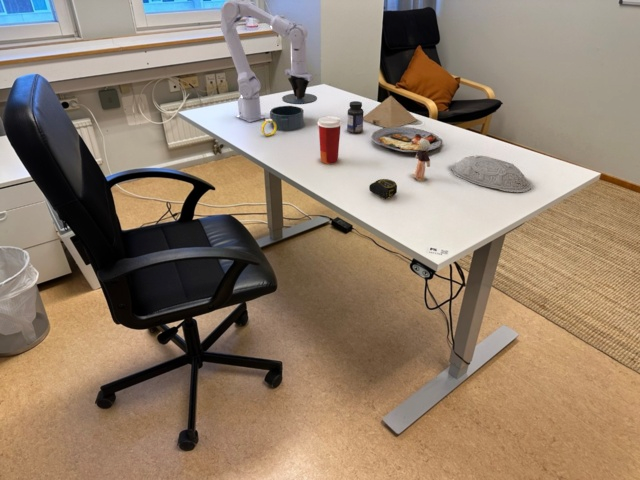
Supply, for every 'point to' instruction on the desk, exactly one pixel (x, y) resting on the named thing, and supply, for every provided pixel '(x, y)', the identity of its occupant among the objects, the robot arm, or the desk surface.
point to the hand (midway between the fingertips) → (299, 96)
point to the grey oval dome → (491, 173)
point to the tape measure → (384, 188)
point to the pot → (287, 118)
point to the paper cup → (329, 139)
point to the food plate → (405, 139)
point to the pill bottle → (355, 117)
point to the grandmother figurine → (422, 160)
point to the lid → (296, 100)
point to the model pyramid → (389, 114)
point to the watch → (268, 122)
